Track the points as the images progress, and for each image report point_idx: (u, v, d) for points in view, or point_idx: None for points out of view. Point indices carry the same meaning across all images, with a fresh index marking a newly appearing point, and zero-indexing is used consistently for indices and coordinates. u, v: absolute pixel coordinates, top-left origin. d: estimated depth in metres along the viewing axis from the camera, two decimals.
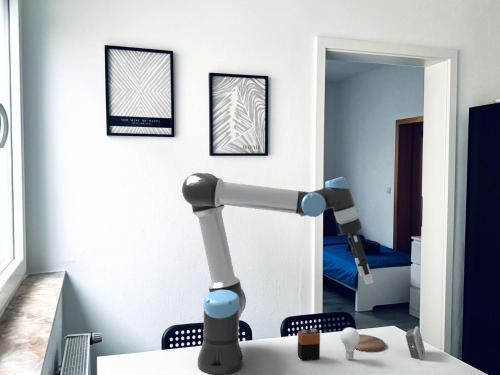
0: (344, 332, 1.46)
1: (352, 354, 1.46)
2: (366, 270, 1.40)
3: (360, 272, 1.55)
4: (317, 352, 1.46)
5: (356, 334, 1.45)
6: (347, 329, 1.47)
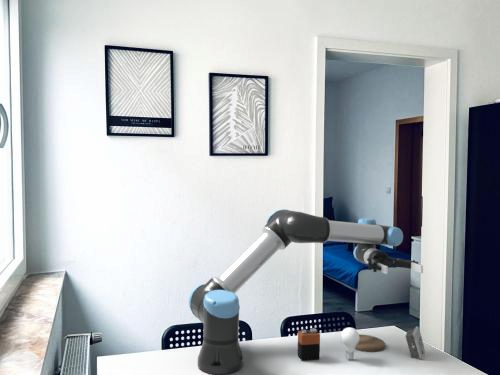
0: (344, 332, 1.46)
1: (352, 354, 1.46)
2: None
3: None
4: (317, 352, 1.46)
5: (356, 334, 1.45)
6: (347, 329, 1.47)
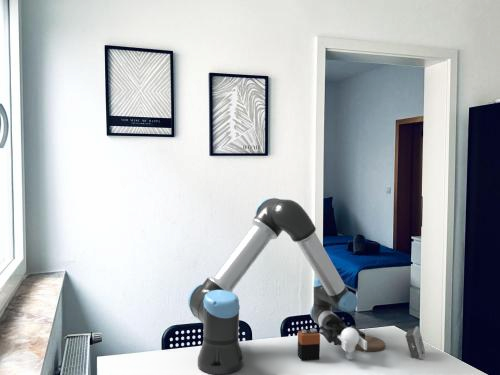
0: (344, 332, 1.46)
1: (352, 354, 1.46)
2: None
3: None
4: (317, 352, 1.46)
5: (356, 334, 1.45)
6: (347, 329, 1.47)
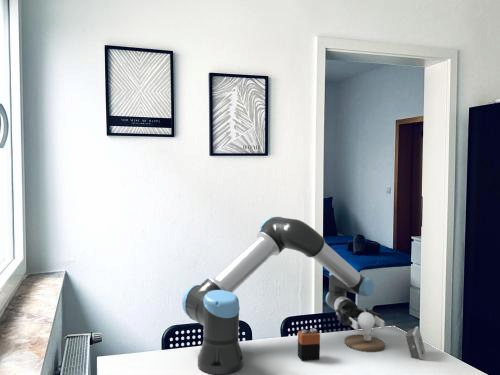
0: (360, 317, 1.61)
1: (369, 336, 1.61)
2: None
3: None
4: (317, 352, 1.46)
5: (371, 317, 1.60)
6: (363, 314, 1.61)
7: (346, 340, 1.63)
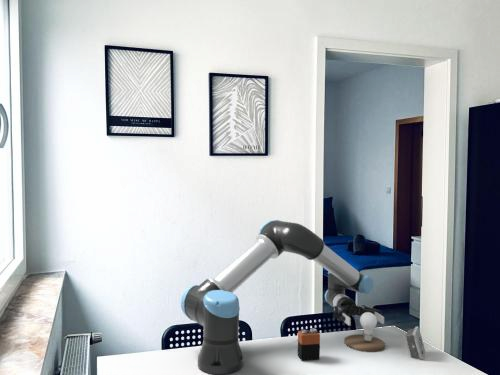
0: (363, 316, 1.61)
1: (370, 336, 1.61)
2: None
3: None
4: (317, 352, 1.46)
5: (374, 318, 1.60)
6: (366, 313, 1.61)
7: (346, 340, 1.63)
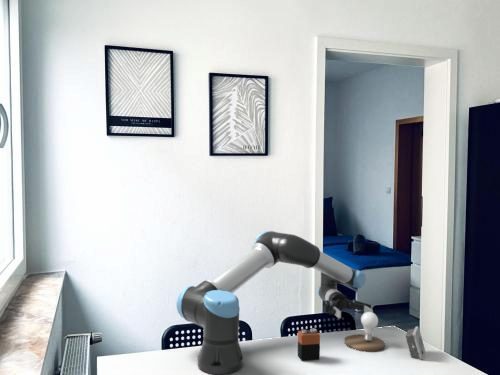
0: (364, 315, 1.61)
1: (370, 336, 1.61)
2: None
3: None
4: (317, 352, 1.46)
5: (375, 317, 1.60)
6: (367, 313, 1.62)
7: (346, 340, 1.63)
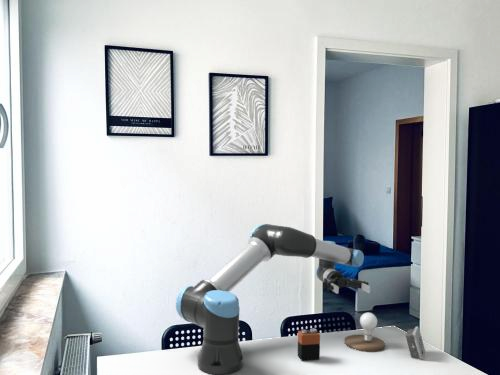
0: (363, 317, 1.60)
1: (370, 336, 1.61)
2: None
3: None
4: (317, 352, 1.46)
5: (374, 319, 1.59)
6: (366, 314, 1.60)
7: (346, 340, 1.63)
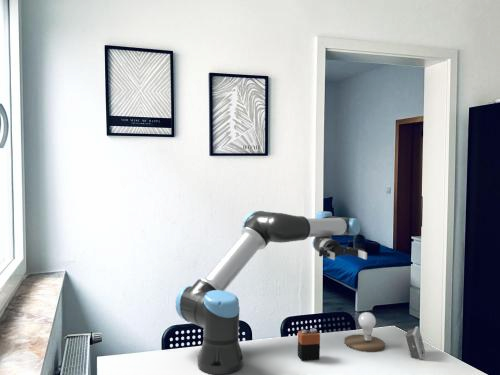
0: (361, 317, 1.61)
1: (370, 336, 1.61)
2: None
3: None
4: (317, 352, 1.46)
5: (372, 318, 1.60)
6: (364, 314, 1.61)
7: (346, 340, 1.63)
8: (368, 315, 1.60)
